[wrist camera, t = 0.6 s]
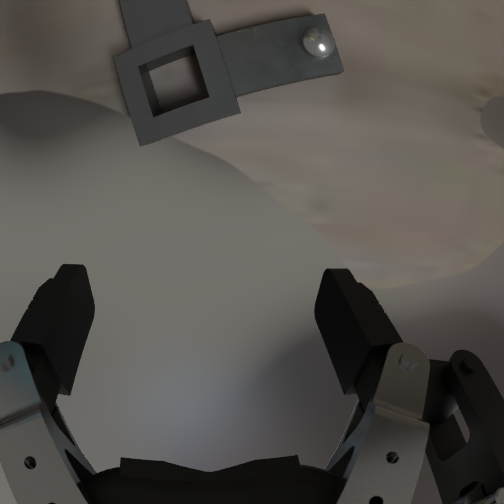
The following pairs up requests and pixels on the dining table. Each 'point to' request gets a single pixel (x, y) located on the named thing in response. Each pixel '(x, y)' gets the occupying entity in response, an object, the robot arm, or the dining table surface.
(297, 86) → the dining table surface
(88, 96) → the dining table surface
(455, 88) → the dining table surface
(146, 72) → the riveted metal bracket
